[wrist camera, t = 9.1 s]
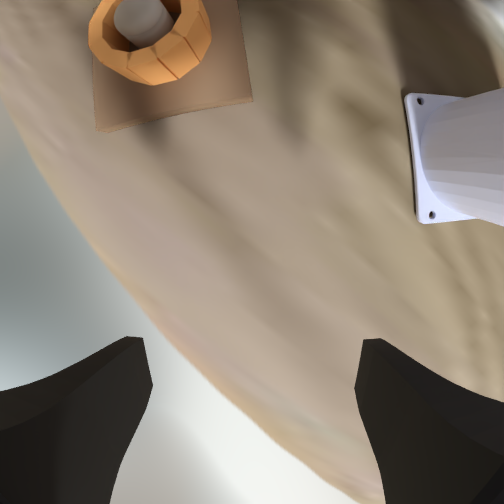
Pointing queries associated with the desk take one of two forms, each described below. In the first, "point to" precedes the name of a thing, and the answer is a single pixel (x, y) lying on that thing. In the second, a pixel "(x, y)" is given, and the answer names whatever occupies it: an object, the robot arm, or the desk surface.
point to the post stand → (184, 89)
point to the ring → (158, 55)
